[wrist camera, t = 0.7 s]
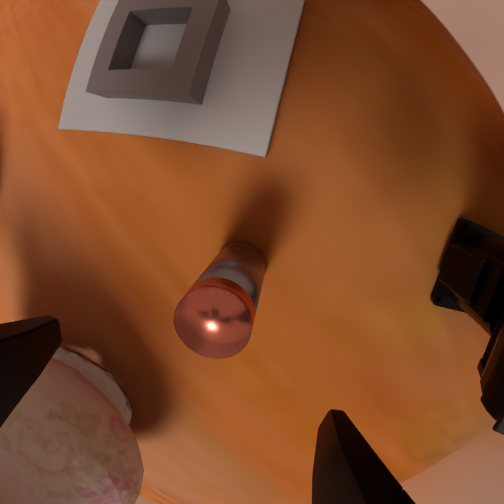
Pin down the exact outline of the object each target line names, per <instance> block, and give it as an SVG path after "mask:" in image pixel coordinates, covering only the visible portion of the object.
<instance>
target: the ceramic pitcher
mask: <svg viewBox="0 0 504 504" xmlns="http://www.w3.org/2000/svg"><path fill="white" fill-rule="evenodd" d="M132 416H133V415H132V409H131V407H130V404H129V401H128V399H127V397H126V396H125V394H124V393H123V391H122V390H121V388H120V387H119V385H118V384H117V382H116V381H115V379H114V378H113V376H112V374H111V373H109V372H107V371H105V370H103V369H101V368H100V367H98V366H96V365H95V364H93V363H91V362H90V361H88V360H86V359H84V358H83V357H81V356H79V355H78V354H76V353H74V352H71V351H68V350H66V349H63V348H61V347H60V348H59V349H57V351H56V352H55V354H54V355H53V357H52V358H51V360H50V361H49V363H48V364H47V366H46V367H45V369H44V370H43V372H42V373H41V375H40V376H39V378H38V379H37V380H36V381H35V383H34V384H33V385H32V386H31V388H30V389H29V390H28V392H27V393H26V394H25V395H24V397H23V398H22V399H21V401H20V402H19V403H18V405H17V406H16V407H15V409H14V410H13V411H12V413H11V414H10V415H9V417H8V418H7V420H6V421H5V422H4V424H3V425H2V427H1V428H0V504H135V502H136V500H137V498H138V496H139V494H140V492H141V486H142V479H143V472H144V469H143V464H142V459H141V454H140V450H139V447H138V443H137V441H136V438H135V436H134V433H133V431H132V430H131V428H130V426H129V424H130V421H131V419H132Z"/></svg>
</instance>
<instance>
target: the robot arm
mask: <svg viewBox="0 0 504 504" xmlns="http://www.w3.org/2000/svg"><path fill="white" fill-rule="evenodd" d="M463 223H464V227H463V228H462V224H463ZM438 296H439V298H438V299H437V300H436V298H437V297H438ZM431 301H432V303H433V304H434V305H436V306H440V307H445V308H449V309H453V310H457V311H461V312H465V313H467V314H468V315H469V316H470V317H471V318H473V319H474V320H475V321H476V322H477V323H478V324H479V325H480V326H481V327H482V328H483V329H484V330H485V331H486V332H487V333H488V334H489V335H490V336H491V337H490V340H489V343H488V345H487V348H486V350H485V353H484V355H483V358H481V359H480V361H479V364H478V366H477V367H478V371H479V374H480V378H481V380H480V383H481V389H482V393H483V395H482V396H481V402H482V404H483V405H484V407H485V409H486V411H487V412H488V413H489V414H490V415H491V417H492V418H493V419H494V420H496V423H495V424H494V426H493V430H494V431H496V432H499V433H500V434H503V435H504V237H502V236H500V235H498V234H496V233H494V232H492V231H490V230H488V229H486V228H484V227H482V226H480V225H478V224H475V223H473V222H471V221H469V220H467V219H464V218H461V219H459V220H458V221H457V224H456V227H455V231H454V234H453V237H452V241H451V244H450V245H449V248H448V251H447V254H446V257H445V260H444V263H443V265H442V268H441V271H440V274H439V276H438V280H437V283H436V285H435V288H434V290H433V293H432V295H431ZM61 341H62V337H61V330H60V323H59V321H58V320H57V319H56V318H54V317H52V316H50V315H47V316H41V317H36V318H31V319H25V320H20V321H14V322H8V323H3V324H0V428H1V427H2V425H3V424H4V422H5V421H6V420H7V418H8V417H9V415H10V414H11V413H12V411H13V410H14V409H15V407H16V406H17V405H18V403H19V402H20V401H21V399H22V398H23V397H24V395H25V394H26V393H27V392H28V390H29V389H30V388H31V386H32V385H33V384H34V383H35V381H36V380H37V379H38V378H39V376H40V375H41V373H42V372H43V370H44V369H45V367H46V366H47V364H48V363H49V361H50V360H51V358H52V357H53V355H54V354H55V352H56V351H57V349H58V348H59V346H60V344H61ZM312 504H415V502H414V501H413V500H412V499H411V498H410V496H409V495H408V494H407V493H406V492H405V490H403V488H402V486H401V485H400V484H399V483H398V481H397V480H396V479H395V477H394V476H393V475H392V474H391V472H390V471H389V470H388V468H387V467H386V466H385V465H384V463H383V462H382V461H381V459H380V458H379V457H378V456H377V454H376V453H375V452H374V450H373V449H372V448H371V446H370V445H369V444H368V442H367V441H366V440H365V439H364V437H363V436H362V435H361V433H360V432H359V431H358V429H357V428H356V427H355V425H354V424H353V423H352V421H351V420H350V419H349V417H348V416H347V415H346V413H345V412H344V411H342V410H335V409H331V410H329V411H328V413H327V415H326V416H325V418H324V419H323V421H322V423H321V424H320V426H319V429H318V434H317V442H316V450H315V458H314V465H313V476H312Z"/></svg>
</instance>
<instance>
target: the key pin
mask: <svg viewBox="0 0 504 504" xmlns="http://www.w3.org/2000/svg"><path fill="white" fill-rule="evenodd" d="M265 269H266V262H265V258H264V255H263V254H262V252H261V251H260V250H259V248H257V247H256V246H255V245H253V244H251V243H249V242H245V241H235V242H232V243H229V244H228V245H226V246H225V247H224V248H223V249H222V250H221V251H220V253H219V254H218V255H217V256H216V257H215V259H214V260H213V261H212V262H211V264H210V265H209V266H208V267H207V268H206V270H205V271H204V272H203V273H202V275H201V276H200V277H199V278H198V280H197V281H196V282H195V283H194V284H193V286H192V287H191V288H190V289H189V291H188V292H187V293H186V294H185V296H184V297H183V298H182V299H181V301H180V302H179V303H178V305H177V307H176V309H175V313H174V325H175V329H176V332H177V334H178V336H179V337H180V339H181V340H182V341H183V343H184V344H185V345H186V346H187V347H188V348H190V349H191V350H192V351H194V352H196V353H198V354H200V355H202V356H205V357H209V358H227V357H231V356H233V355H235V354H237V353H239V352H240V351H241V350H242V349H244V347H245V346H246V345H247V343H248V341H249V339H250V335H251V331H252V327H253V322H254V318H255V314H256V309H257V305H258V301H259V296H260V292H261V287H262V283H263V278H264V274H265Z"/></svg>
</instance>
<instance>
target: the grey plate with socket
mask: <svg viewBox="0 0 504 504" xmlns="http://www.w3.org/2000/svg"><path fill="white" fill-rule="evenodd" d="M304 2H305V0H100V2H99V4H98V6H97V8H96V11H95V13H94V15H93V17H92V20H91V22H90V24H89V27H88V29H87V32H86V34H85V37H84V39H83V42H82V45H81V47H80V50H79V53H78V56H77V59H76V62H75V65H74V68H73V71H72V75H71V78H70V81H69V85H68V89H67V92H66V96H65V100H64V104H63V109H62V113H61V117H60V122H59V127H58V129H65V130H83V131H97V132H110V133H120V134H130V135H139V136H147V137H155V138H162V139H169V140H176V141H182V142H189V143H195V144H200V145H206V146H212V147H217V148H222V149H227V150H232V151H237V152H242V153H247V154H252V155H256V156H261V157H265V158H266V157H267V153H268V149H269V145H270V140H271V136H272V132H273V128H274V124H275V120H276V116H277V111H278V107H279V103H280V99H281V95H282V91H283V87H284V83H285V79H286V75H287V71H288V66H289V62H290V58H291V54H292V50H293V46H294V42H295V38H296V34H297V30H298V26H299V22H300V18H301V14H302V10H303V6H304Z"/></svg>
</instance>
